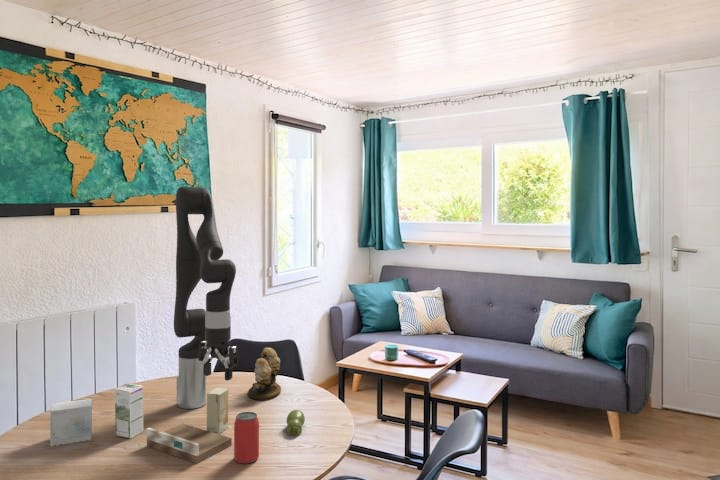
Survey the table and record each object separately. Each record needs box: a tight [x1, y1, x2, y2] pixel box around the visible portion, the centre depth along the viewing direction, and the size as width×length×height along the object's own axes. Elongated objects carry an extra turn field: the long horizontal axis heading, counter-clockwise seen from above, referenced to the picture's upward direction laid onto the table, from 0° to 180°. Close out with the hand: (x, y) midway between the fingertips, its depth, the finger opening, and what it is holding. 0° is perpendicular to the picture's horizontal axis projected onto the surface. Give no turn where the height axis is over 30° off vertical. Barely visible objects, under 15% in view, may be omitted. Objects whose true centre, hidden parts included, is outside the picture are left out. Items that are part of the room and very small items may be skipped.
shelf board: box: [146, 423, 232, 464], centre depth 147 cm, size 20×13×5 cm, turn 60°
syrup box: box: [114, 383, 145, 439], centre depth 154 cm, size 6×6×14 cm
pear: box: [286, 409, 306, 436], centre depth 160 cm, size 6×5×10 cm
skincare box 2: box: [206, 387, 229, 435], centre depth 158 cm, size 6×4×12 cm
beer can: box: [233, 411, 260, 465], centre depth 140 cm, size 7×7×12 cm
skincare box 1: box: [49, 398, 93, 447], centre depth 150 cm, size 10×6×10 cm, turn 117°
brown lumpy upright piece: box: [247, 347, 282, 402], centre depth 193 cm, size 18×12×17 cm, turn 2°
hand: (217, 377), depth 158 cm, fingers open, 8 cm apart
